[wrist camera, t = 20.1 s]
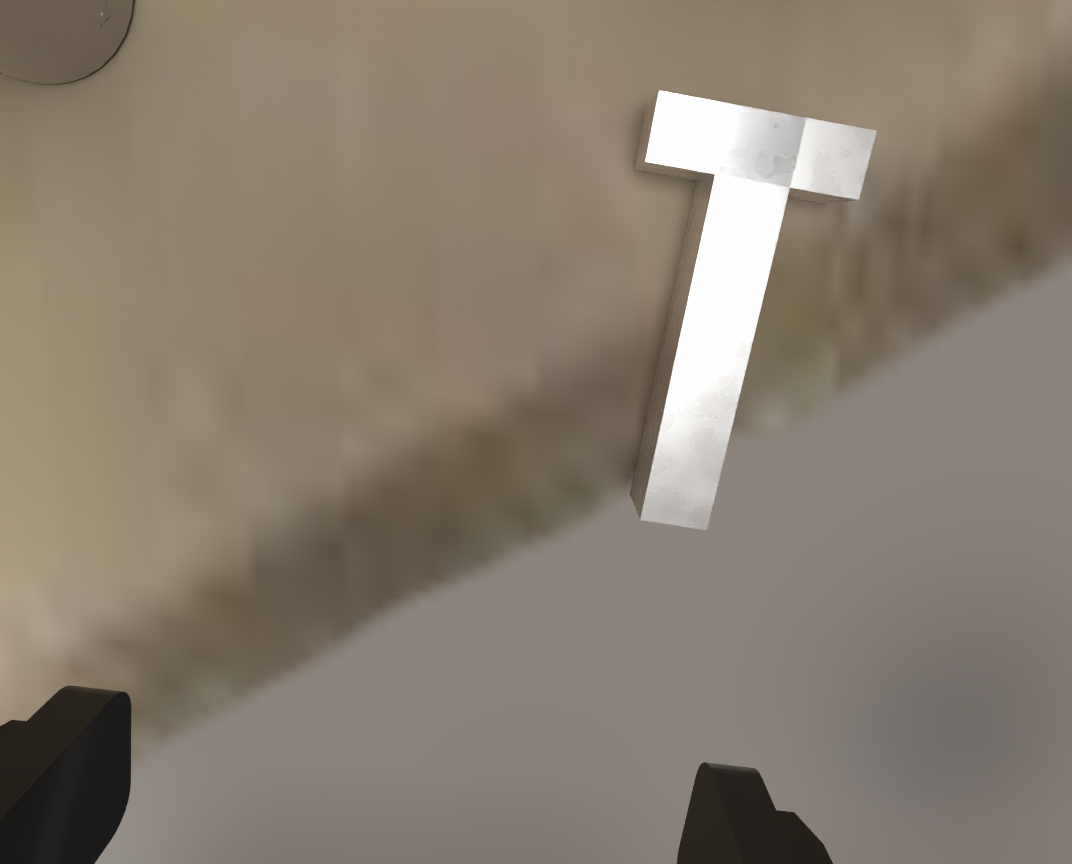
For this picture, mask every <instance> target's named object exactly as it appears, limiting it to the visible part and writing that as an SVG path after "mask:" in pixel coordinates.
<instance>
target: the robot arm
mask: <svg viewBox="0 0 1072 864" xmlns="http://www.w3.org/2000/svg"><path fill="white" fill-rule="evenodd" d="M132 6H133V0H0V73H2V74H5V75H8V76H11V77H15V78H18V79H21V80H24V81H29V82H35V83H41V84H60V83H68V82H71V81H74V80H78V79H81V78H84V77H86V76H87V75H89V74H91V73H92V72H94V71H96V70H97V69H99V68H101V67H102V66H103V65H104V64H105V63H106V62H107V61H108V60H109V59H110V57H111V56H112V55H113V54H114V53H115V52H116V50H117V48H118V47H119V45H120V43H121V42H122V40H123V38H124V37H125V34H126V31H127V28H128V25H129V22H130V19H131V15H132ZM130 785H131V701H130V697H129V695H128V694H127V693H125V692H121V691H112V690H104V689H95V688H87V687H79V686H66V687H64V688H62V689H60V690H59V691H58V692H57V693H56V694H55V695H54V696H53V697H52V698H51V699H49V700H48V701H47V702H46V703H45V704H44V705H43V706H42V707H41V708H40V709H39V710H38V711H37V712H36V713H35V714H34V715H33V716H32V717H31V718H30V719H29V720H28V721H18V720H11V721H9V722H7V723H6V724H4V725H2V726H0V864H94V863H95V862H96V861H97V859H98V858H99V856H100V855H101V853H102V852H103V851H104V849H105V848H106V846H107V845H108V843H109V842H110V841H111V839H112V837H113V836H114V834H115V833H116V831H117V829H118V827H119V825H120V823H121V820H122V818H123V815H124V812H125V810H126V806H127V803H128V799H129V794H130ZM677 864H833V863H832V861H831V859H830V857H829V855H828V853H827V851H826V848H825V846H824V845H823V843H822V842H821V841H820V840H819V839H818V838H817V837H816V836H815V835H814V834H813V832H812V831H811V830H810V829H809V828H808V827H807V826H806V825H805V824H804V823H803V822H802V820H801V819H799V817H798V816H797V815H796V814H795V813H794V812H786V811H777V810H776V809H775V807H774V804H773V802H772V800H771V798H770V795H769V793H768V791H767V789H766V786H765V784H764V782H763V779H762V777H761V775H760V774H759V772H758V771H757V770H756V769H754V768H748V767H739V766H730V765H721V764H713V763H705V762H704V763H702V764H701V765H700V767H699V769H698V771H697V774H696V778H695V782H694V786H693V791H692V795H691V799H690V803H689V808H688V812H687V816H686V820H685V825H684V829H683V833H682V838H681V842H680V846H679V851H678V858H677Z"/></svg>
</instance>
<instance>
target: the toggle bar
mask: <svg viewBox="0 0 1072 864" xmlns="http://www.w3.org/2000/svg"><path fill="white" fill-rule="evenodd" d="M876 132H877V131H875V130H869V129H864V128H858V127H853V126H848V125H842V124H837V123H832V122H826V121H821V120H815V119H810V118H805V117H799V116H794V115H788V114H783V113H778V112H772V111H767V110H762V109H756V108H751V107H745V106H740V105H735V104H729V103H724V102H719V101H713V100H708V99H702V98H697V97H692V96H686V95H681V94H675V93H670V92H665V91H658V92H657V94H656V95H655V96H654V97H653V98H652V99H651V101H650V102H649V103H648V104H647V105H646V107H645V112H644V118H643V123H642V128H641V133H640V139H639V144H638V149H637V154H636V160H635V165H634V170H638V171H644V172H649V173H655V174H660V175H666V176H671V177H677V178H683V179H688V180H694V181H696V186H695V190H694V195H693V200H692V205H691V209H690V214H689V219H688V224H687V228H686V233H685V238H684V242H683V247H682V252H681V257H680V261H679V266H678V271H677V276H676V280H675V285H674V290H673V294H672V299H671V304H670V309H669V313H668V318H667V323H666V328H665V332H664V337H663V342H662V346H661V351H660V356H659V361H658V365H657V370H656V375H655V380H654V384H653V389H652V394H651V398H650V403H649V408H648V413H647V417H646V422H645V427H644V432H643V436H642V441H641V446H640V450H639V455H638V460H637V465H636V469H635V474H634V479H633V484H632V486H631V491H630V496H631V498H632V500H633V503H634V505H635V508H636V510H637V513H638V515H639V518H640V520H644V521H651V522H657V523H664V524H670V525H676V526H683V527H689V528H696V529H702V530H707V527H708V523H709V519H710V515H711V511H712V506H713V503H714V499H715V495H716V490H717V486H718V482H719V478H720V474H721V470H722V466H723V462H724V457H725V453H726V449H727V445H728V441H729V437H730V433H731V429H732V424H733V420H734V416H735V412H736V408H737V404H738V400H739V396H740V391H741V387H742V383H743V379H744V375H745V371H746V367H747V363H748V358H749V354H750V350H751V346H752V342H753V338H754V334H755V330H756V325H757V321H758V317H759V313H760V309H761V305H762V301H763V297H764V292H765V288H766V284H767V280H768V276H769V272H770V268H771V264H772V259H773V255H774V251H775V247H776V243H777V239H778V235H779V231H780V226H781V222H782V218H783V214H784V210H785V206H786V202H787V198H794V199H799V200H805V201H810V202H816V203H821V204H831V203H838V202H846V201H854V200H859V196H860V192H861V188H862V185H863V181H864V177H865V173H866V170H867V166H868V162H869V158H870V155H871V151H872V147H873V143H874V139H875V136H876Z"/></svg>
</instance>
